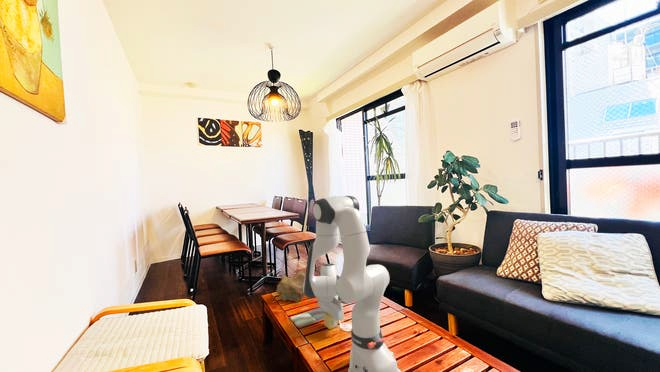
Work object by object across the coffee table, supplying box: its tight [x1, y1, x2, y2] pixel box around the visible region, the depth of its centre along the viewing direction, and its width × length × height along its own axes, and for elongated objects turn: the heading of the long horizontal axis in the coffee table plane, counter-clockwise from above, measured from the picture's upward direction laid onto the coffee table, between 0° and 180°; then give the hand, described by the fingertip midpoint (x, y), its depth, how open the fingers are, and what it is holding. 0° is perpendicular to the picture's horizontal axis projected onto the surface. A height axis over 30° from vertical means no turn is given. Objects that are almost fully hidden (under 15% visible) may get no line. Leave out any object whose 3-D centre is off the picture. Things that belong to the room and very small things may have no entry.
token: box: [323, 313, 339, 330], centre depth 139 cm, size 5×5×6 cm
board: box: [289, 307, 325, 329], centre depth 149 cm, size 12×21×1 cm, turn 122°
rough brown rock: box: [275, 271, 306, 303], centre depth 175 cm, size 23×17×15 cm
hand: (330, 321), depth 139 cm, fingers closed on token, 5 cm apart
